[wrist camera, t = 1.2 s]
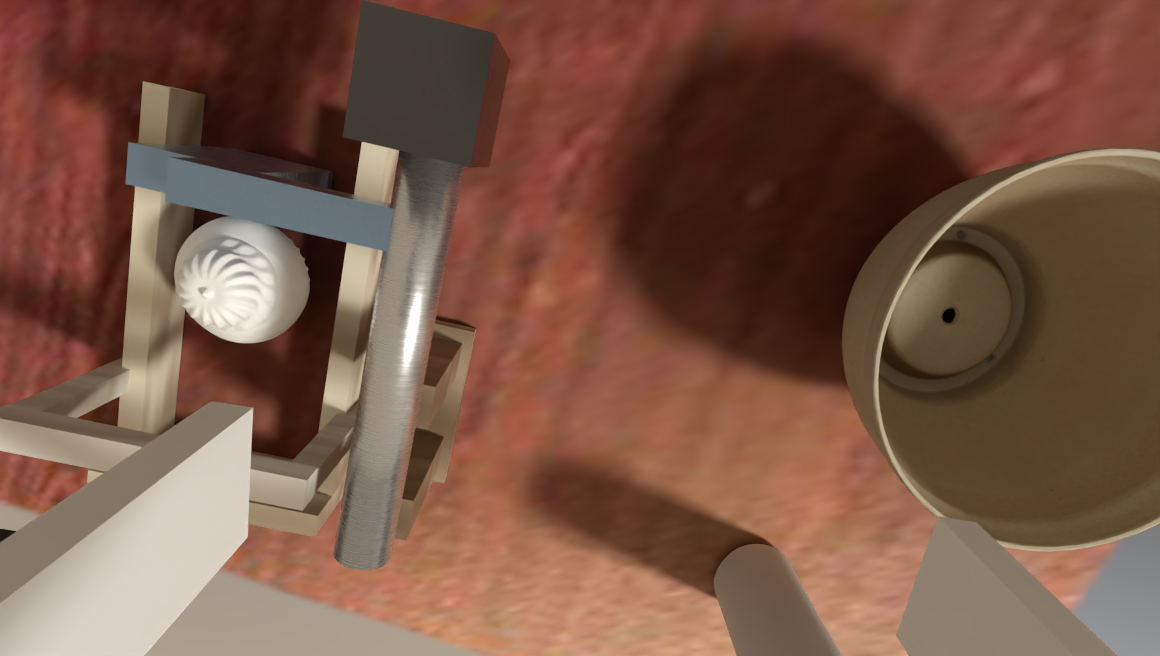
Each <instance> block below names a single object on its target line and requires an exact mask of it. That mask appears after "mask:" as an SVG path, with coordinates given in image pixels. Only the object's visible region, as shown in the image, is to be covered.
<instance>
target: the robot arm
mask: <svg viewBox="0 0 1160 656" xmlns="http://www.w3.org/2000/svg"><path fill="white" fill-rule="evenodd" d="M252 422H253V408H252V407H246V406H239V405H233V404H227V403H220V402H214V401H211V402H209V403H208V404H206V405H205V406H203V407H202V408H200V409H199V410H197V411H196V412H194V413H193V414H191V415H190V416H188V417H187V418H185V419H184V420H182V421H181V422H179V423H178V424H176V425H175V426H174V427H172V428H171V429H169V430H168V431H166V432H165V433H163V434H162V435H160V436H159V437H157V438H156V439H154V440H153V441H151V442H150V443H148V444H147V445H145V446H144V447H142V448H141V449H139V450H138V451H136V452H135V453H133V454H132V455H130V456H129V457H127V458H126V459H124V460H123V461H121V462H120V463H118V464H117V465H115V466H114V467H112V468H111V469H109V470H108V471H106V472H105V473H103V474H102V475H100V476H99V477H97V478H96V479H94V480H93V481H91V482H90V483H88V484H87V485H85V486H84V487H82V488H81V489H79V490H78V491H76V492H75V493H73V494H72V495H70V496H69V497H67V498H66V499H64V500H63V501H61V502H60V503H58V504H57V505H55V506H54V507H52V508H51V509H49V510H48V511H46V512H45V513H43V514H42V515H40V516H39V517H37V518H36V519H35V520H33V521H32V522H30V523H29V524H27V525H26V526H24V527H23V528H21V529H20V530H18V531H11V530H5V529H0V656H144V655H145V654H146V653H147V652H148V651H149V649H150V648H151V647H152V646H153V645H154V644H155V643H156V641H157V640H158V639H159V638H160V637H161V636H162V635H163V633H164V632H165V631H166V630H167V629H168V628H169V627H170V625H171V624H172V623H173V622H174V621H175V619H176V618H177V617H178V616H179V615H180V614H181V613H182V612H183V611H184V609H185V608H186V607H187V606H188V605H189V604H190V602H191V601H192V600H193V599H194V598H195V597H196V596H197V595H198V593H199V592H200V591H201V590H202V589H203V588H204V587H205V585H206V584H207V583H208V582H209V581H210V580H211V579H212V577H213V576H214V575H215V574H216V573H217V572H218V570H219V569H220V568H221V567H222V566H223V565H224V564H225V562H226V561H227V560H228V559H229V558H230V557H231V556H232V554H233V553H234V552H235V551H236V550H237V549H238V548H239V546H240V545H241V544H242V543H243V542H244V541H245V540H246V538H247V537H248V514H249V491H250V468H251V445H252ZM896 636H897V637H898V639H899V640H900V642H901V643H902V645H903V647H904V648H905V650H906V651H907V653H908V654H909V656H1117V655H1116V654H1115V653H1114V652H1113V651H1112V650H1110V648H1108V647H1107V646H1106V645H1105V644H1104V643H1103V642H1102V641H1101V640H1100V639H1099V638H1098V637H1097V636H1096V635H1095V634H1094V633H1093V632H1092V631H1090V630H1089V629H1088V628H1087V627H1086V626H1085V625H1084V624H1083V623H1082V622H1081V621H1080V620H1079V619H1077V617H1076V616H1075V615H1074V614H1073V613H1072V612H1071V611H1069V610H1068V609H1067V608H1066V607H1065V606H1064V605H1063V604H1062V603H1061V602H1060V601H1059V600H1058V599H1057V598H1056V597H1055V596H1054V595H1053V594H1052V593H1050V592H1049V591H1048V590H1047V589H1046V588H1045V587H1044V586H1043V585H1042V584H1041V583H1040V582H1039V581H1038V580H1037V579H1036V578H1035V577H1034V576H1033V575H1031V574H1030V573H1029V572H1028V571H1027V570H1026V569H1025V568H1024V567H1023V566H1022V565H1021V564H1020V563H1019V562H1018V561H1017V560H1016V559H1015V558H1014V557H1012V556H1011V555H1010V554H1009V553H1008V552H1007V551H1006V550H1005V549H1004V548H1003V547H1002V546H1001V545H1000V544H999V543H998V542H997V541H996V540H995V539H993V538H992V537H991V536H990V535H989V534H988V533H987V532H986V531H985V530H984V529H983V528H982V527H981V526H980V525H979V524H978V523H977V522H971V521H965V520H959V519H952V518H946V517H940V516H938V518H937V521H936V524H935V526H934V529H933V532H932V535H931V538H930V541H929V544H928V546H927V549H926V552H925V555H924V558H923V561H922V564H921V566H920V569H919V572H918V575H917V578H916V581H915V584H914V586H913V589H912V592H911V595H910V598H909V601H908V604H907V606H906V609H905V612H904V615H903V618H902V621H901V624H900V627H899V629H898V632H897V635H896Z"/></svg>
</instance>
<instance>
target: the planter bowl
mask: <svg viewBox="0 0 1160 656" xmlns="http://www.w3.org/2000/svg"><path fill="white" fill-rule="evenodd" d="M947 309H954V311H955V318H954V320H953V321H952V322H951V323H946V322H945V321H943V319H942V315H943V313H944V311H946V310H947ZM842 355H843V364H844V371H845V376H846V380H847V384H848V388H849V392H850V395H851V398H852V401H853V403H854V406H855V408H856V410H857V412H858V415H859V417H860V419H861V421H862V423H863V424H864V426H865V428H866V430H867V431H868V433H869V435H870V436H871V438H872V439H873V441H874V442H875V444H876V445H877V447H878V448H879V450H880V451H881V452H882V454H883V455H884V456H885V457H886V459H887V461H888V463H889V464H890V466H891V467H892V469H893V470H894V472H895V473H896V475H897V476H898V477H899V479H900V480H901V482H902V483H903V484H904V485H905V486H906V488H907V489H908V490H909V491H910V492H911V493H912V494H913V495H914V496H915V497H916V498H917V499H918V500H919V501H920V502H921V503H922V504H923V505H924V506H925V507H926V508H927V509H928V510H929V511H931V512H932V513H933V514H934V515H936V516H937V517H938V516H940V517H946V518H952V519H959V520H965V521H971V522H977V523H978V524H979V525H980V526H981V527H982V528H983V529H984V530H985V531H986V532H987V533H988V534H989V535H990V536H991V537H992V538H993V539H995V540H996V541H997V542H998V543H999V544H1000V545H1001V546H1003V547H1008V548H1014V549H1021V550H1030V551H1063V550H1074V549H1081V548H1087V547H1092V546H1097V545H1101V544H1105V543H1109V542H1112V541H1116V540H1119V539H1122V538H1125V537H1128V536H1131V535H1134V534H1137V533H1139V532H1141V531H1144V530H1146V529H1148V528H1150V527H1153V526H1155V525H1157V524H1158V523H1160V152H1156V151H1150V150H1143V149H1132V148H1106V149H1092V150H1083V151H1077V152H1071V153H1065V154H1060V155H1057V156H1053V157H1049V158H1045V159H1042V160H1039V161H1035V162H1028V163H1023V164H1018V165H1014V166H1010V167H1006V168H1003V169H999V170H995V171H992V172H989V173H986V174H983V175H980V176H977V177H975V178H972V179H970V180H967V181H964V182H962V183H960V184H958V185H956V186H954V187H952V188H950V189H947V190H945V191H943V192H941V193H940V194H938V195H936V196H935V197H933V198H931V199H930V200H928V201H927V202H925V203H924V204H922V205H921V206H919V207H918V208H916V209H915V210H914V211H912V212H911V213H910V214H909V215H907V216H906V217H905V218H904V219H902V220H901V221H900V222H899V223H898V224H897V225H896V226H895V227H894V228H893V229H892V230H891V231H890V232H889V233H888V234H887V235H886V236H885V237H884V238H883V239H882V240H881V242H880V243H879V244H878V245H877V246H876V247H875V249H874V250H873V252H872V253H871V254H870V256H869V257H868V259H867V260H866V262H865V263H864V265H863V267H862V268H861V270H860V272H859V274H858V276H857V278H856V280H855V282H854V285H853V287H852V290H851V293H850V295H849V298H848V302H847V306H846V310H845V315H844V321H843V330H842Z"/></svg>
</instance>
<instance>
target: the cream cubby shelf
mask: <svg viewBox="0 0 1160 656" xmlns="http://www.w3.org/2000/svg"><path fill="white" fill-rule="evenodd" d="M475 333H476V328H472V327H467V326H462V325H458V324H453V323H449V322H444V321H440V320H435V326H434V331H433V336H432V342H431V347H430V352H429V358H428V363H427V369H426V374H425V379H424V385H423V390H422V395H421V401H420V406H419V411H418V417H417V422H416V427H415V433H414V438H413V443H412V449H411V454H410V460H409V465H408V470H407V476H406V481H405V486H404V492H403V497H402V502H401V508H400V513H399V518H398V524H397V529H396V535H395V538H397V539H402V540H407V537H408V535H409V533H410V530H411V528H412V526H413V524H414V521H415V519H416V517H417V515H418V512H419V510H420V508H421V506H422V503H423V501H424V499H425V497H426V494H427V492H428V490H429V488H430V485H431V483H432V481H435V482H440V483H444V482H445V479H446V477H447V472H448V467H449V462H450V457H451V452H452V447H453V442H454V437H455V432H456V427H457V422H458V417H459V412H460V407H461V403H462V398H463V393H464V388H465V383H466V378H467V373H468V368H469V363H470V358H471V353H472V348H473V343H474V338H475Z"/></svg>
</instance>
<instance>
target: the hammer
mask: <svg viewBox="0 0 1160 656" xmlns="http://www.w3.org/2000/svg"><path fill="white" fill-rule="evenodd" d="M509 62H510V59H509V57H508V56H507V54H506V52H505V50H504V49H503V47H502V45H501V43H500V42H499V40H498V38H497V36H496V35H495V33H491V32H487V31H483V30H479V29H475V28H471V27H467V26H463V25H459V24H455V23H451V22H447V21H443V20H439V19H435V18H431V17H427V16H423V15H419V14H415V13H411V12H407V11H403V10H399V9H395V8H391V7H387V6H383V5H380V4H376V3H372V2H368V1H364V0H362V5H361V12H360V19H359V26H358V33H357V40H356V47H355V54H354V61H353V68H352V75H351V82H350V89H349V96H348V103H347V110H346V117H345V124H344V131H343V137H345V138H349V139H353V140H357V141H361V142H366V143H370V144H374V145H378V146H383V147H387V148H391V149H395V150H399V154H398V160H397V166H396V172H395V179H394V185H393V191H392V197H391V203H387V202H383V201H379V200H374V199H370V198H366V197H361V196H357V195H353V194H349V193H344V192H340V191H336V190H331V186H332V179H333V172H334V171H329V170H325V169H321V168H316V167H312V166H308V165H304V164H299V163H295V162H291V161H287V160H282V159H278V158H274V157H269V156H265V155H261V154H257V153H252V152H248V151H244V150H240V149H235V148H224V147H206V146H188V145H171V144H153V143H135V142H128V155H127V170H126V184H128V185H132V186H136V187H141V188H145V189H149V190H154V191H158V192H163V193H166V194H165V201H166V202H171V203H175V204H179V205H184V206H188V207H193V208H197V209H201V210H206V211H210V212H215V213H219V214H223V215H228V216H232V217H237V218H241V219H245V220H250V221H254V222H259V223H263V224H267V225H272V226H276V227H281V228H285V229H289V230H294V231H298V232H303V233H307V234H311V235H316V236H320V237H325V238H329V239H334V240H338V241H342V242H347V243H351V244H356V245H360V246H364V247H369V248H373V249H378V250H382V251H383V252H382V258H381V264H380V270H379V276H378V283H377V289H376V295H375V301H374V307H373V313H372V319H371V325H370V332H369V338H368V344H367V350H366V356H365V362H364V368H363V374H362V381H361V387H360V393H359V399H358V405H357V411H356V417H355V423H354V430H353V436H352V442H351V448H350V454H349V460H348V466H347V472H346V479H345V485H344V491H343V497H342V503H341V509H340V515H339V521H338V528H337V534H336V540H335V546H334V557H335V559H336V560H337V561H338V562H339V563H340V564H341V565H343V566H345V567H348V568H351V569H355V570H372V569H376V568H379V567H381V566H383V565H385V564H386V563H388V561H389V560H390V559H391V556H392V551H393V545H394V540H395V535H396V529H397V524H398V518H399V513H400V508H401V502H402V497H403V492H404V486H405V481H406V476H407V470H408V465H409V460H410V454H411V449H412V443H413V438H414V433H415V427H416V422H417V417H418V411H419V406H420V401H421V395H422V390H423V385H424V379H425V374H426V369H427V363H428V358H429V352H430V347H431V342H432V336H433V331H434V326H435V320H436V315H437V310H438V304H439V299H440V294H441V288H442V283H443V277H444V272H445V267H446V261H447V256H448V251H449V245H450V240H451V235H452V229H453V224H454V219H455V213H456V208H457V202H458V197H459V192H460V186H461V181H462V176H463V170H464V166H467V167H489V165H490V160H491V155H492V149H493V144H494V139H495V134H496V129H497V124H498V119H499V114H500V108H501V103H502V98H503V93H504V88H505V83H506V78H507V73H508V68H509Z"/></svg>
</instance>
